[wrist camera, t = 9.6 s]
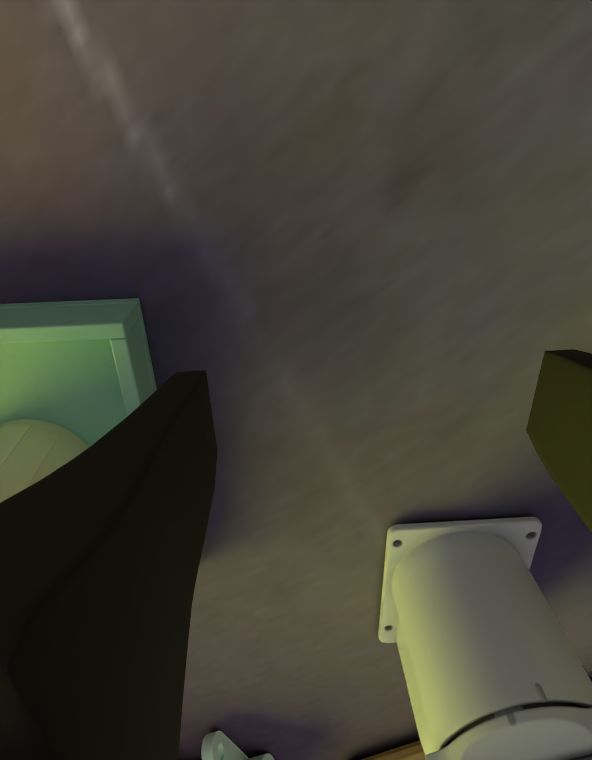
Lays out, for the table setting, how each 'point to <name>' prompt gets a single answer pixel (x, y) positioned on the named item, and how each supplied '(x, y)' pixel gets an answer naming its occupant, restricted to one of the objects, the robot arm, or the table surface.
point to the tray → (74, 363)
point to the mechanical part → (225, 749)
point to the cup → (33, 452)
